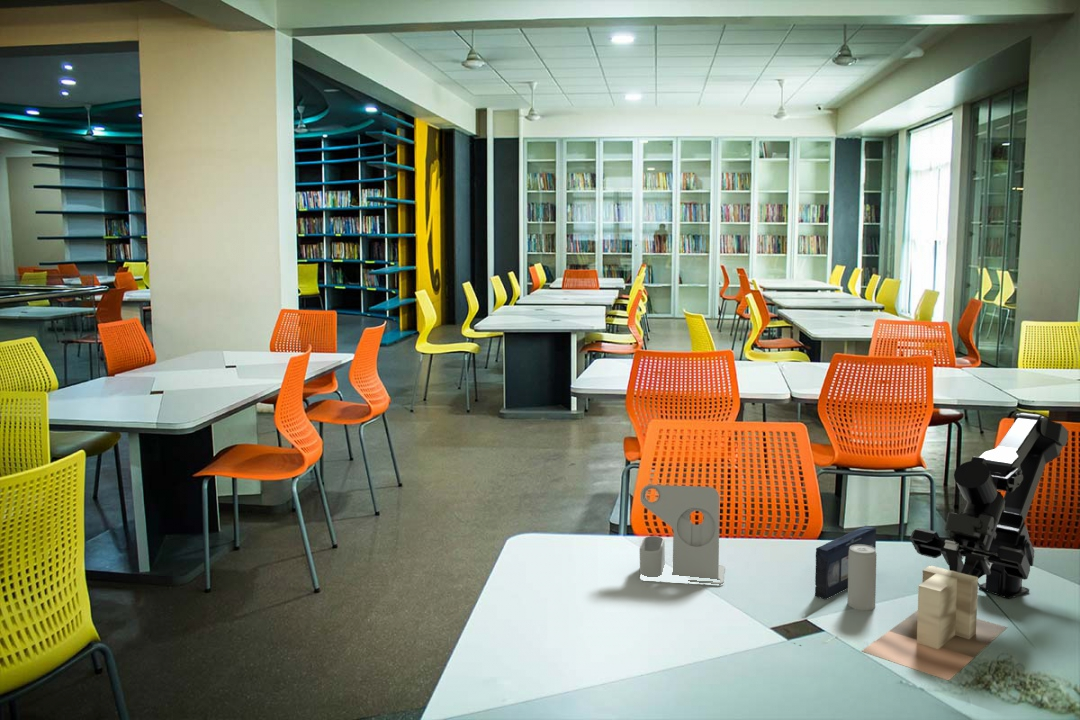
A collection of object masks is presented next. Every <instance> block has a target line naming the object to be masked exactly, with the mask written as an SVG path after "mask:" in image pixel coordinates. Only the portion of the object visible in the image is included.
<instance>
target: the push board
mask: <svg viewBox="0 0 1080 720" xmlns="http://www.w3.org/2000/svg"><path fill="white" fill-rule="evenodd" d="M917 621H918V609H917V610H916V611H914V612H913V613H911V614H910V615H909V616H908V617H906V618H905V619H903V620H902V621H901V622H899V623H897V624H896V625H895V626H894V627H893V628H891V629H889V630H888V631H887V632H886V633H884V634H883V635H881V636H880V637H878V638H877V639H876V640H875V641H873V642H872V643H869V645H867V646H866V647H865V648H864V649H862V650H861V652H862V653H865V654H867V655H871V656H874V657H877V658H880V659H883V660H886V661H889V662H892V663H895V664H898V665H901V666H904V667H906V668H910V669H913V670H915V671H919V672H922V673H925V674H928V675H930V676H934V677H935V678H936V677H937V678H940V679H942V680H946V681H950V680H952V678H954V677H955V675H957V674H959V672H960V671H962V670H963V669H964V667H966V666H967V665H968V664H969V663H970V662H972V660H973V659H974V658H976V657H977V656H978V655H979V654H980V653H982V651H983V650H984V649H986V648H987V647H988V646H989V645H990V644H991V643H992V642H994V641H995V640H996V639H997V638H998V637H999V636H1000V635H1001V634H1002V633H1003V632H1004V631H1006V630H1007V629H1008V626H1004V625H1001V624H997V623H994V622H990V621H986V620H983V619H980V618H977V619H976V634H975V635H973V636H972V637H971V638H970V639H966V638H963V637H960V636H956V635H955V636H954V637H952V638H951V639H950V640H949V641H948V642H946V643H945V644H944V645H943V646H942V647H940V648H939V649H935V648H932V647H929V646H926V645H923V644H919V643H917Z"/></svg>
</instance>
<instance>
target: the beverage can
mask: <svg viewBox="0 0 1080 720" xmlns="http://www.w3.org/2000/svg"><path fill="white" fill-rule="evenodd" d="M849 549H850V550H849V558H848V589H847V606H849V607H850V608H852V609H855V610H858V611H872V610H874V609H875V608H876V596H877V595H876V593H877V592H876V588H877V587H876V586H877V551H876V549H875V548H874V547H872V546H869V545H862V544H856V545H852V546H850V547H849Z"/></svg>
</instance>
